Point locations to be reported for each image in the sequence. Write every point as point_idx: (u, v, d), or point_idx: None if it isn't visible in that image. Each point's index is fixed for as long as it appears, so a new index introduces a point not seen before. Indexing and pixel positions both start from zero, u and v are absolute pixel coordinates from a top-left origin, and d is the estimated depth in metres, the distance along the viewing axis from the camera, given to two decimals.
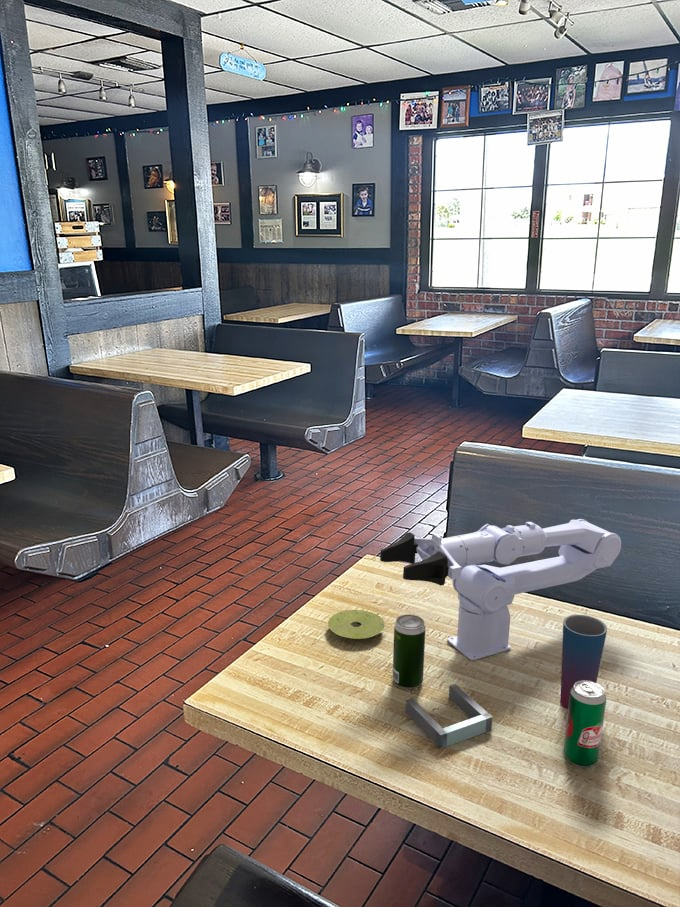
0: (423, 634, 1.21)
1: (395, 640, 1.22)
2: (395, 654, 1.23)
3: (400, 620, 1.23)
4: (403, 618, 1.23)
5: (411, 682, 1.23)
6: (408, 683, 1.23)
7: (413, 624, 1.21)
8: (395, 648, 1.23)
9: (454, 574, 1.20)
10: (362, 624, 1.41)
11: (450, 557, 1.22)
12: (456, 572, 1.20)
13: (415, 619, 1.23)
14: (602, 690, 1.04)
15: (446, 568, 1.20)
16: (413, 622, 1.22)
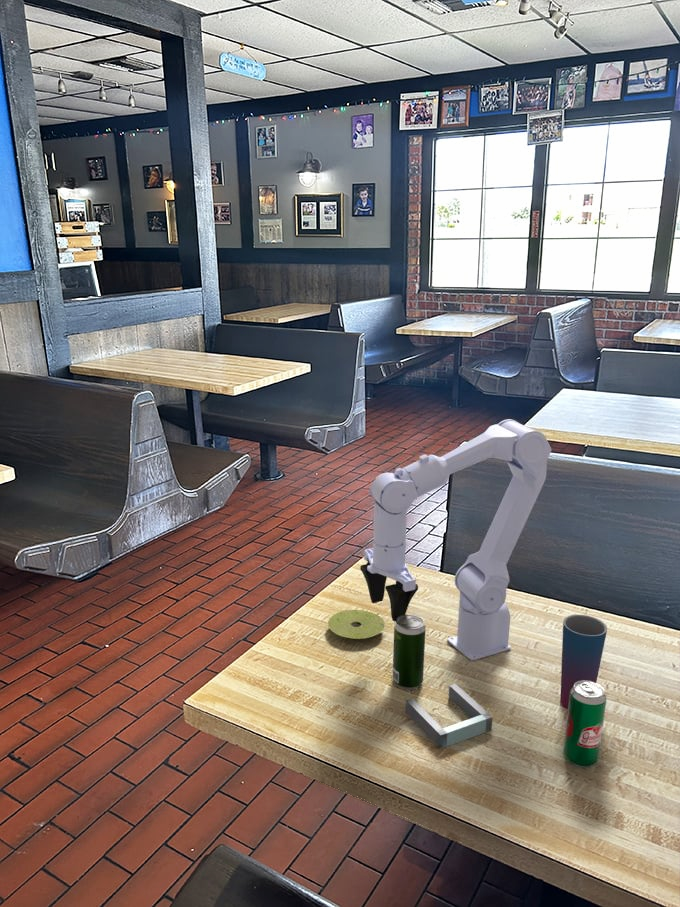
0: (423, 634, 1.21)
1: (395, 640, 1.22)
2: (395, 654, 1.23)
3: (400, 620, 1.23)
4: (403, 618, 1.23)
5: (411, 682, 1.23)
6: (408, 683, 1.23)
7: (413, 624, 1.21)
8: (395, 648, 1.23)
9: (411, 587, 1.21)
10: (362, 624, 1.41)
11: (394, 577, 1.22)
12: (410, 586, 1.21)
13: (415, 619, 1.23)
14: (602, 690, 1.04)
15: (403, 590, 1.22)
16: (413, 622, 1.22)
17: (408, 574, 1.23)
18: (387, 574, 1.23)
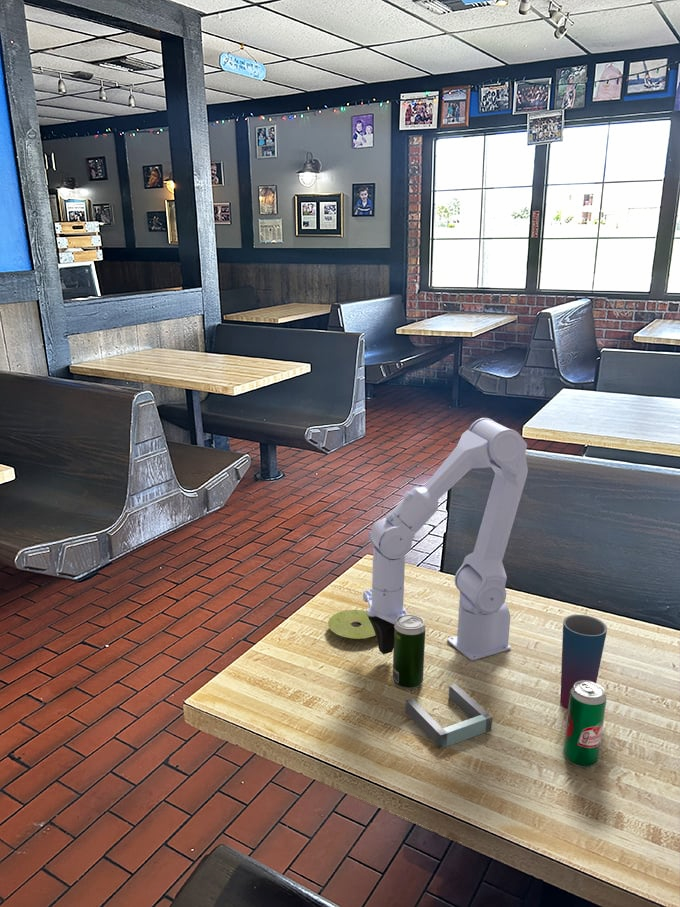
0: (423, 634, 1.21)
1: (395, 640, 1.22)
2: (395, 654, 1.23)
3: (400, 620, 1.23)
4: (403, 618, 1.23)
5: (411, 682, 1.23)
6: (408, 683, 1.23)
7: (413, 624, 1.21)
8: (395, 648, 1.23)
9: None
10: (362, 624, 1.41)
11: (392, 621, 1.25)
12: None
13: (415, 619, 1.23)
14: (602, 690, 1.04)
15: (391, 625, 1.27)
16: (413, 622, 1.22)
17: None
18: (386, 618, 1.26)
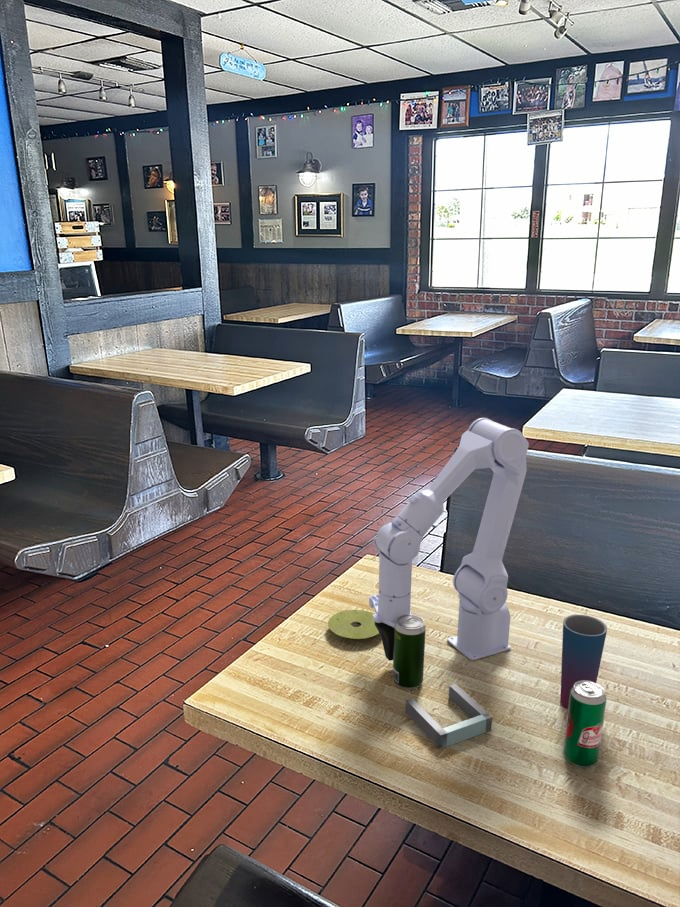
0: (423, 634, 1.21)
1: (395, 640, 1.22)
2: (395, 654, 1.23)
3: (400, 620, 1.23)
4: (403, 618, 1.23)
5: (411, 682, 1.23)
6: (408, 683, 1.23)
7: (413, 624, 1.21)
8: (395, 648, 1.23)
9: None
10: (362, 624, 1.41)
11: None
12: None
13: (415, 619, 1.23)
14: (602, 690, 1.04)
15: None
16: (413, 622, 1.22)
17: None
18: (392, 624, 1.24)
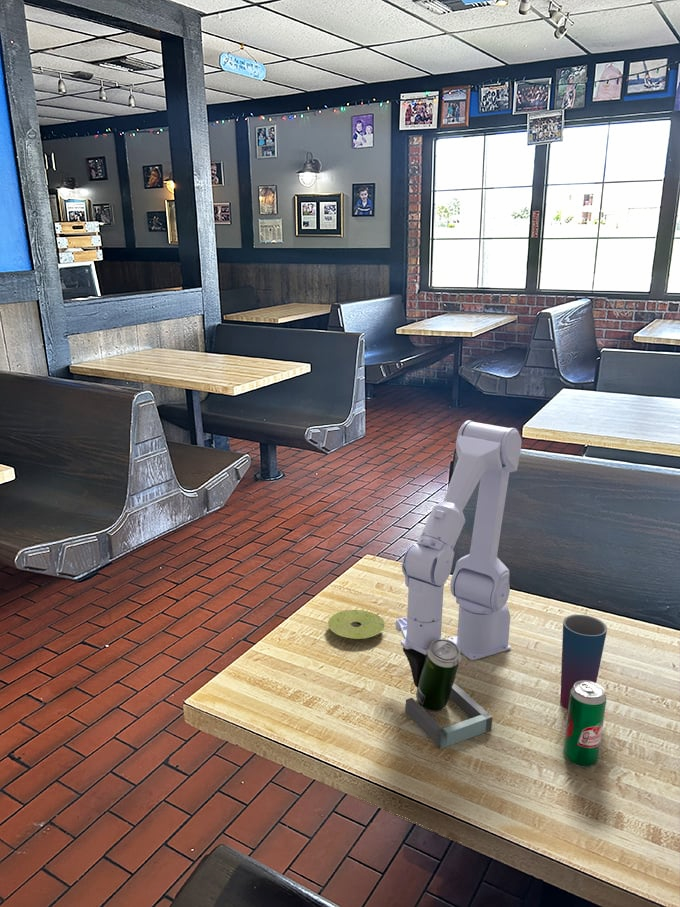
0: (457, 665, 1.13)
1: (426, 667, 1.14)
2: (424, 679, 1.15)
3: (434, 647, 1.14)
4: (437, 644, 1.14)
5: (437, 706, 1.17)
6: (434, 707, 1.17)
7: (448, 654, 1.13)
8: (425, 674, 1.15)
9: None
10: (362, 624, 1.41)
11: None
12: None
13: (450, 646, 1.14)
14: (602, 690, 1.04)
15: None
16: (448, 651, 1.13)
17: None
18: (423, 651, 1.16)
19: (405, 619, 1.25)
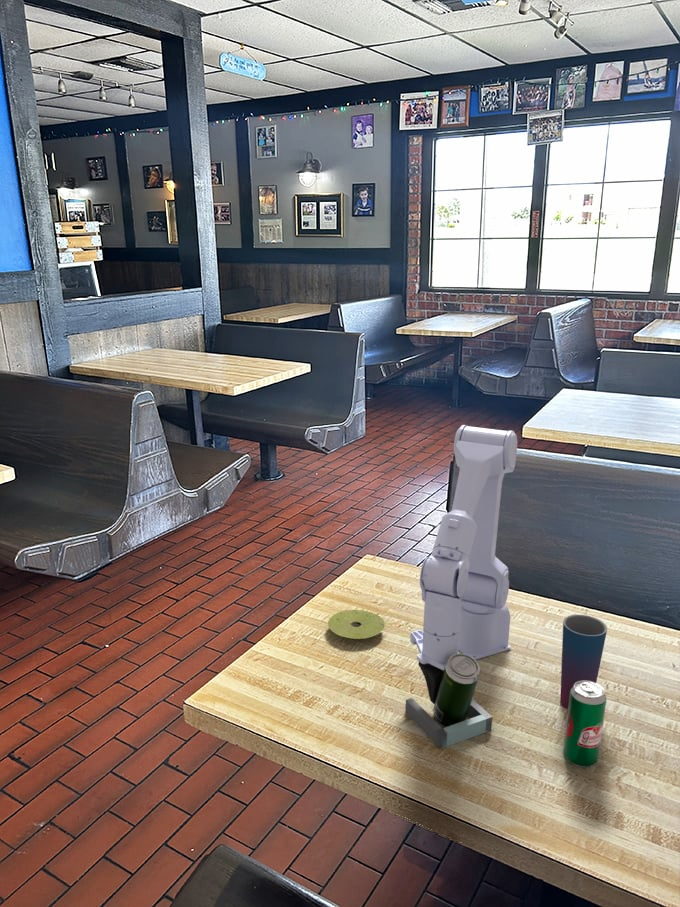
0: (477, 681, 1.09)
1: (444, 683, 1.10)
2: (442, 695, 1.11)
3: (452, 663, 1.09)
4: (455, 660, 1.10)
5: (455, 723, 1.12)
6: (452, 724, 1.12)
7: (467, 670, 1.09)
8: (443, 690, 1.11)
9: None
10: (362, 624, 1.41)
11: None
12: None
13: (468, 661, 1.10)
14: (602, 690, 1.04)
15: None
16: (467, 667, 1.09)
17: None
18: (440, 666, 1.12)
19: (420, 632, 1.21)
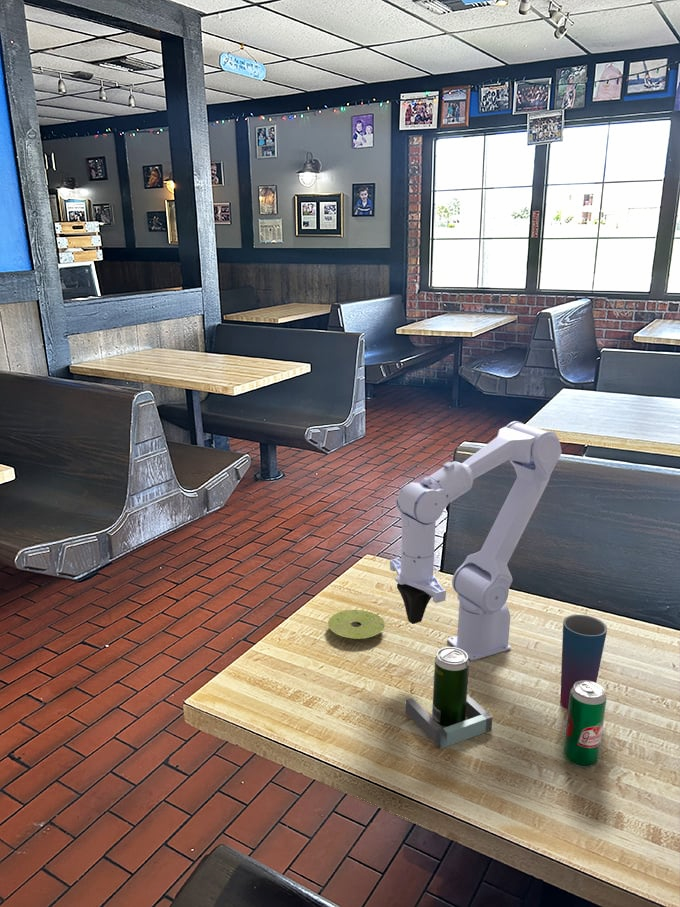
0: (467, 669, 1.12)
1: (436, 676, 1.12)
2: (436, 691, 1.13)
3: (441, 654, 1.13)
4: (444, 651, 1.13)
5: (454, 721, 1.13)
6: (451, 722, 1.13)
7: (456, 658, 1.12)
8: (436, 685, 1.13)
9: (441, 598, 1.19)
10: (362, 624, 1.41)
11: (423, 588, 1.21)
12: (440, 597, 1.19)
13: (457, 652, 1.14)
14: (602, 690, 1.04)
15: (421, 593, 1.23)
16: (456, 656, 1.12)
17: (437, 585, 1.22)
18: (416, 585, 1.22)
19: (399, 560, 1.31)
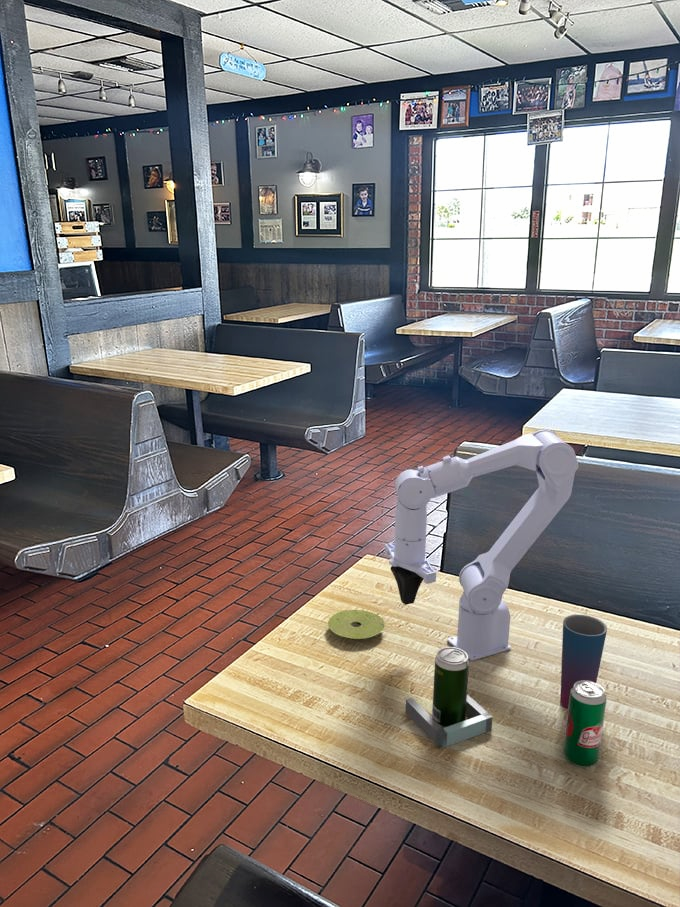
0: (467, 669, 1.12)
1: (436, 676, 1.12)
2: (436, 691, 1.13)
3: (441, 654, 1.13)
4: (444, 651, 1.13)
5: (454, 721, 1.13)
6: (451, 722, 1.13)
7: (456, 658, 1.12)
8: (436, 685, 1.13)
9: (432, 580, 1.26)
10: (362, 624, 1.41)
11: (415, 570, 1.27)
12: (430, 578, 1.26)
13: (457, 652, 1.14)
14: (602, 690, 1.04)
15: (413, 575, 1.30)
16: (456, 656, 1.12)
17: (428, 567, 1.28)
18: (408, 567, 1.28)
19: (393, 544, 1.38)
